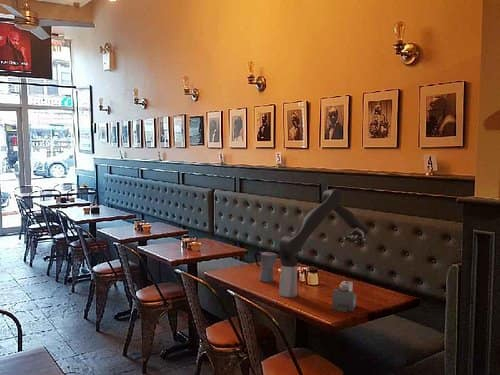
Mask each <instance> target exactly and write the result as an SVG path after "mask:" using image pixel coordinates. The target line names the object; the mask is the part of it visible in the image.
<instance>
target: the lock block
mask: <svg viewBox="0 0 500 375" xmlns="http://www.w3.org/2000/svg"><path fill="white" fill-rule="evenodd" d="M340 285H346V286H348V291H353V286H354V285H353V281H346V280H342V282H341V283H340V284H339V285H338V287H339V286H340Z"/></svg>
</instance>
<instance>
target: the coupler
mask: <svg viewBox="0 0 500 375" xmlns="http://www.w3.org/2000/svg"><path fill="white" fill-rule="evenodd" d="M339 285H340V284H339ZM339 285H338V289H334V288H333V290H332V308H331V309H332V310H336V311H337V312H343V313H347V312H351V311H352V312H354V310H355V309H354V308H356V306H357V294H355V292H354V291H353V290H352V291H348V286H346V285H340V286H339Z"/></svg>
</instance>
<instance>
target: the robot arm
mask: <svg viewBox="0 0 500 375" xmlns="http://www.w3.org/2000/svg"><path fill="white" fill-rule="evenodd" d="M321 197H322V201H323V202H322V203H321V204H319V205H318V206H316V207H314V208H313V209H311V210H310V211H309V212H308V213H307V214H306V215H305V216H304V218H303V220H302V222H301V228H300V229H299V230H300V231H299V232H297V234H296V235H295V236H294V237H292V236H288V235H287V236H282V238H281V239H280V242H279V246H278V247H279V260H280V278H279V287H278V289H279V291H278V292H279V293H278V296H280V297H284V298H296V297H297V296H298V293H297V292H298V260H297V259H296V258H295V257H294V255H296V254H297V253H299V252H300V251H301V249H302V248H303V246H304V245H305V244H306V242H307V240H308V239H309V238H310V237H311V236H312V234H313V233H314V232H315V231H316V230H317V228H318V227H319V226H320V225H321V224H322V223H323V221H324V220H325V219H326V218H328V216H329V214H330V213H331V212H332V211H333V212H335V214H337V215H338V216H339V217H340V218H341V219H342V220H343V221H344V223H345V224H346V225H347V226H348V228H349V229H352V231H351V232H350V233H349V235H345V234H344V235H343V241H346V242H347V243H348V242H349V243H350V244H354V245H357V244H360V243H364V242H366V237H367V236H368V235H369V234H370V232H371V231H370V228H369V227H368V226H367V225H366V224H365V223H363V222H361V221H360V220H359V219H358V218H357V217H356V216H355V214H354V213H353V212H352V211H351V210H349V209H347V208H346V207H345V206H343V205H342V204H341V203H342V201H343V199H344V193H343V191H342V190H340V189H338V188H332V189H326V190H324V191H323V192H322V196H321Z"/></svg>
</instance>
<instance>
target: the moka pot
mask: <svg viewBox="0 0 500 375" xmlns="http://www.w3.org/2000/svg"><path fill="white" fill-rule="evenodd" d="M257 255H258V256H260V259H261V261H260V262H261V263H260V264H261V265H260V264H259V262H258V256H257ZM253 256H254V259H255V264H256V266H257V267H261V271H260V275H259V281H260V282H263V283H273V282H274V267H275V262H276V260H277V259H278V257H279V254H276V253H275V252H271V249H267V251H264V252H261V251H256V253H255V254H254V255H253Z"/></svg>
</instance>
